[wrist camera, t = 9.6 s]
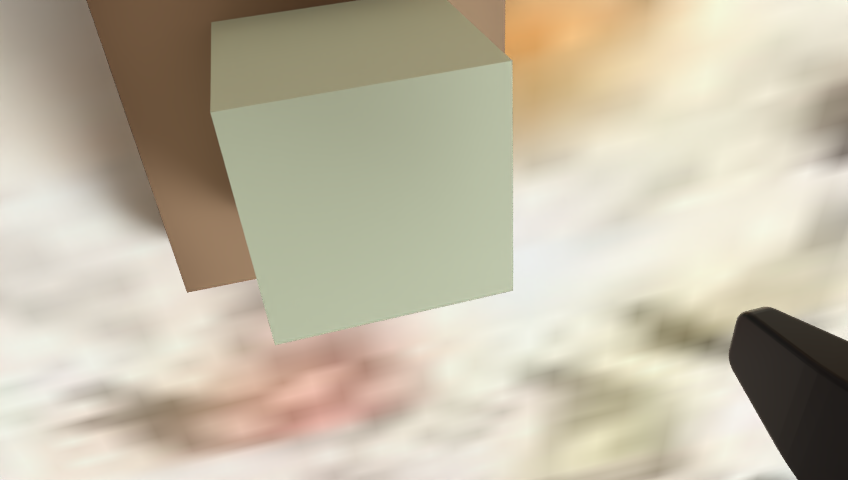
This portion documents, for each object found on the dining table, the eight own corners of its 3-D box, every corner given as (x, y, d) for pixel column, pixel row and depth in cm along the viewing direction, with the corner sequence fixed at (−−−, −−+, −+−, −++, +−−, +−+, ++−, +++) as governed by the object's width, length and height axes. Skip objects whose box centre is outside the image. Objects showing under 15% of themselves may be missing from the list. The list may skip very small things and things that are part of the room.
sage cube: (261, 215, 18) (275, 344, 13) (211, 21, 15) (210, 112, 11) (447, 179, 18) (513, 290, 14) (434, -12, 15) (511, 60, 11)
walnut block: (189, 232, 21) (186, 292, 18) (86, -91, 15) (64, -65, 13) (471, 179, 22) (503, 229, 20) (465, -131, 17) (506, -114, 15)
